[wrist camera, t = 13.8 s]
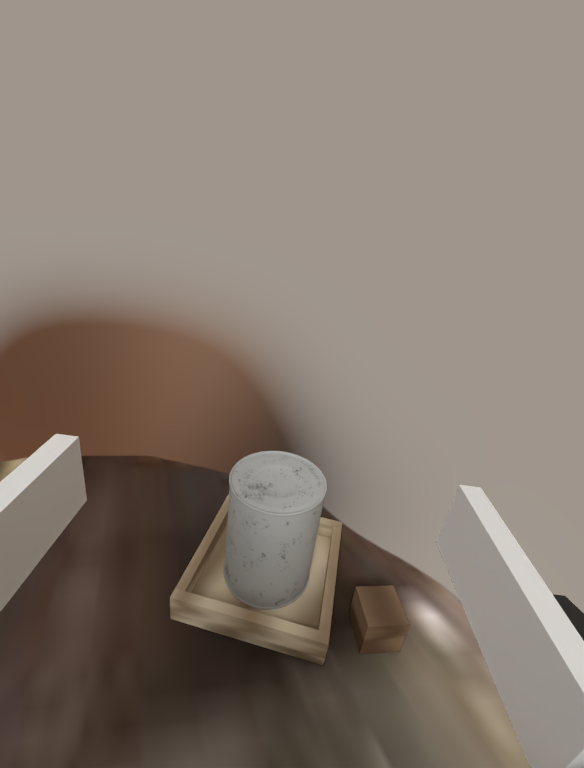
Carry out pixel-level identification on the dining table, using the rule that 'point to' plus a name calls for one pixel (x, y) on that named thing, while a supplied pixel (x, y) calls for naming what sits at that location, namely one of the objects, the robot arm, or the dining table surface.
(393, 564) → the dining table surface
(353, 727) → the dining table surface
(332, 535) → the oak tray
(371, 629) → the walnut block
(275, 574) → the speckled tin can
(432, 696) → the dining table surface
